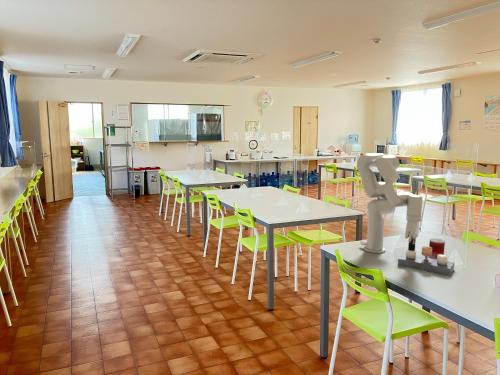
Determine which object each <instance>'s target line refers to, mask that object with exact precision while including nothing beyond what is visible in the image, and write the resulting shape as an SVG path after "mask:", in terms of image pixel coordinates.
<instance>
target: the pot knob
mask: <svg viewBox="0 0 500 375" xmlns="http://www.w3.org/2000/svg"><path fill="white" fill-rule="evenodd" d="M421 256H422V257H425V261H427V260H428V258H429V256H432V248H431V247H429V246H427V245H426V246H422V247H421Z"/></svg>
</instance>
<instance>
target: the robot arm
mask: <svg viewBox="0 0 500 375" xmlns="http://www.w3.org/2000/svg"><path fill="white" fill-rule="evenodd" d="M356 168H357V172H358V174H359V176H360V179H361V182H362V185H363V189H364V192H365V195H366V197H367V198H368V199H369V198H370V199H371V200H370V201H369V202H368V203H367V204H366V209H367V210H366V211H367V236H366V241H364V240H363V241H362V240H361V241H360V245H361V246H364V247H363V250H364V251H365V252H368V253H374V254H383V253H385V252H386V248H385V247H384V235H385V233H384V232H385V219H384V218H383V215H390V214H393V213H394V212H395V210H396V208H399V207H400V208H402V207H406V219H405V221H406V227H405V234H404V235H405V236H404V238H405V239H408V245H407V246H408V248H407V249H408V250H410V251H415V250H416V240H417V238H418V237H419V235H420V222H421V221H422V214H423V213H422V212H423V211H422V210H423V197H422V196H421V195H419V194H413V193H412V192H399V193H397V191H396V190H395V188H394V185H393V184H395V183H396V182H397V181H398V180H399V178H400V174H399V173H398V171H397V169H398V168H400V160H399V159H398V156H395V155H392V154H388V153H363V154H361V155H360V156H359V157H358V158H357V161H356ZM371 168H377V170H378V173H379V174H380V176H381V178H382V179H383V181H378V180H377V176H376V174H375V172H374V171H373V170H372V169H371ZM378 198H379V199H378ZM372 199H373V200H372Z"/></svg>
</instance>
